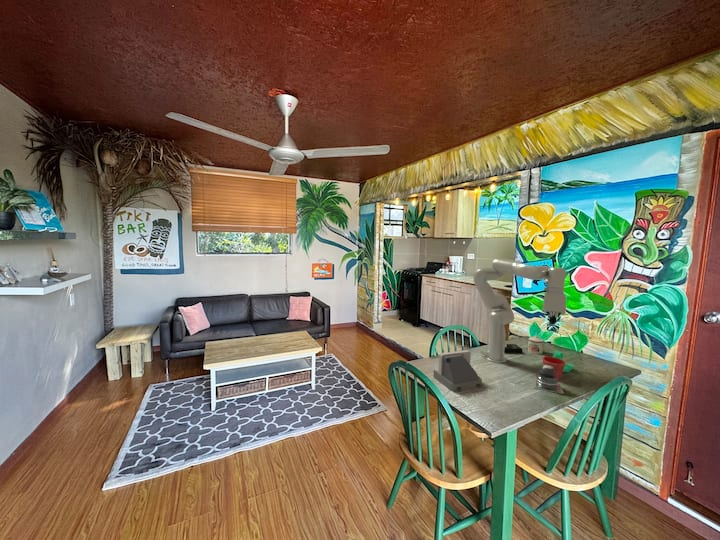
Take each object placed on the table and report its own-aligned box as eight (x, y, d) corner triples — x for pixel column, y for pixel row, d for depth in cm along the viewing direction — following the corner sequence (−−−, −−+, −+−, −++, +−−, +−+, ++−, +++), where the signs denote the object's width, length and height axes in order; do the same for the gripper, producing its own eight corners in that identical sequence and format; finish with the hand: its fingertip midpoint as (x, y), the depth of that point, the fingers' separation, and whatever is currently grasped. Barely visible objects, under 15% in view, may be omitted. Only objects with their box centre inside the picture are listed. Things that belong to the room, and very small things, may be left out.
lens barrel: (533, 388, 152) (534, 376, 151) (531, 379, 162) (531, 368, 161) (563, 394, 146) (564, 381, 146) (559, 384, 156) (560, 372, 156)
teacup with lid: (525, 351, 204) (526, 335, 203) (529, 348, 210) (531, 332, 209) (545, 357, 195) (546, 339, 194) (549, 353, 201) (550, 337, 200)
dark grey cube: (541, 378, 152) (542, 367, 151) (539, 373, 157) (540, 363, 157) (555, 380, 150) (556, 370, 149) (552, 376, 155) (553, 365, 155)
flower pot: (569, 380, 161) (570, 363, 160) (551, 381, 159) (552, 364, 159) (553, 372, 172) (554, 356, 171) (536, 373, 170) (538, 356, 169)
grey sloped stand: (464, 371, 170) (466, 346, 168) (486, 389, 150) (488, 360, 148) (430, 374, 166) (431, 348, 164) (448, 392, 146) (449, 363, 144)
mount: (562, 373, 170) (563, 356, 169) (548, 368, 177) (550, 352, 176) (574, 370, 176) (575, 353, 175) (560, 365, 182) (562, 349, 181)
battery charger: (515, 349, 209) (515, 344, 209) (522, 354, 199) (522, 348, 199) (496, 349, 209) (497, 343, 209) (502, 354, 200) (503, 348, 200)
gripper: (540, 290, 157) (537, 323, 159) (573, 292, 151) (570, 327, 153) (538, 288, 164) (535, 320, 166) (570, 290, 158) (567, 324, 160)
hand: (552, 323), depth 159 cm, fingers closed
